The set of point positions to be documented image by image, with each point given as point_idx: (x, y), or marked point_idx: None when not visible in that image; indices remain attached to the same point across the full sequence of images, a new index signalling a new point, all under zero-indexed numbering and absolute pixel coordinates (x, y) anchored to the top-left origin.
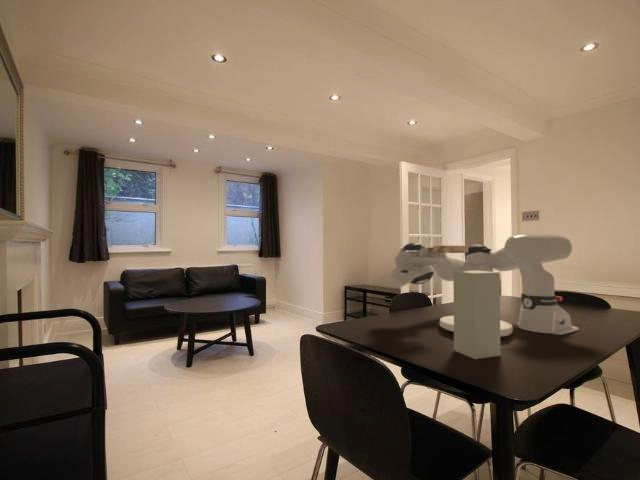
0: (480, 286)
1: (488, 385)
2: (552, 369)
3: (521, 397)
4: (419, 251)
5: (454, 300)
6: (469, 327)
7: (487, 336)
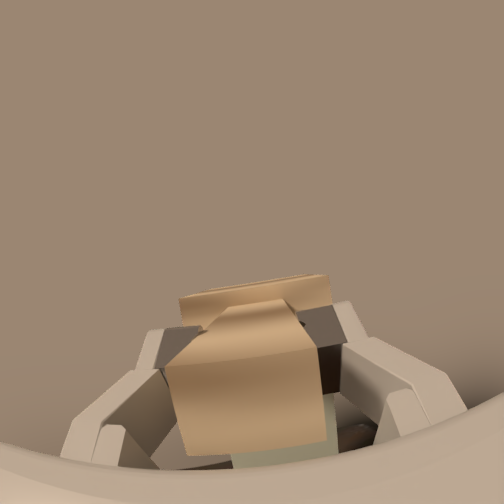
0: None
1: (372, 441)
2: None
3: (353, 427)
4: (430, 386)
5: (337, 453)
6: None
7: None
